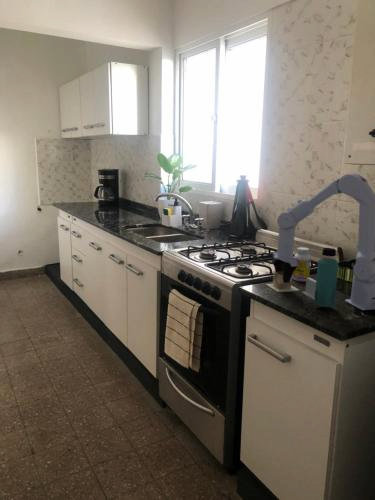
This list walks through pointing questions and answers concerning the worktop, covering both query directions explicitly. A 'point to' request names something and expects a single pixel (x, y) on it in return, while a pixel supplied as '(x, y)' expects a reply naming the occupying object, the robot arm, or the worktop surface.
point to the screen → (310, 288)
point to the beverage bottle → (326, 279)
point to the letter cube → (280, 281)
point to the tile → (282, 289)
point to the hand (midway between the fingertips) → (282, 280)
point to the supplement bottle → (302, 264)
